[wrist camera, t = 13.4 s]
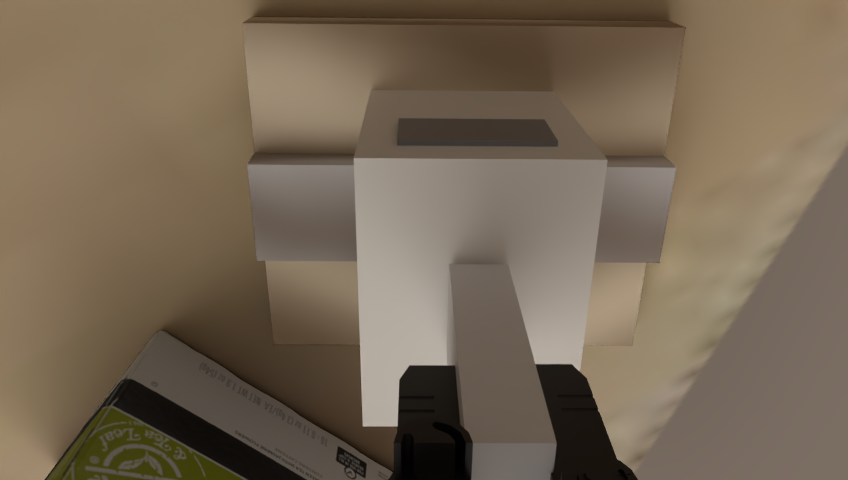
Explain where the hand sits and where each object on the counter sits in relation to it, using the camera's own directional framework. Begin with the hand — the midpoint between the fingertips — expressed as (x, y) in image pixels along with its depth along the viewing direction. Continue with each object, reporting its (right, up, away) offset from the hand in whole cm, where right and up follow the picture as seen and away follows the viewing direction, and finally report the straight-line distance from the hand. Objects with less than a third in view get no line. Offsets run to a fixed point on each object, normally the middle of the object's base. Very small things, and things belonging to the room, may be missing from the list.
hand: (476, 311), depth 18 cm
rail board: (0, +4, +8) cm, 9 cm away
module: (0, +3, +7) cm, 7 cm away
